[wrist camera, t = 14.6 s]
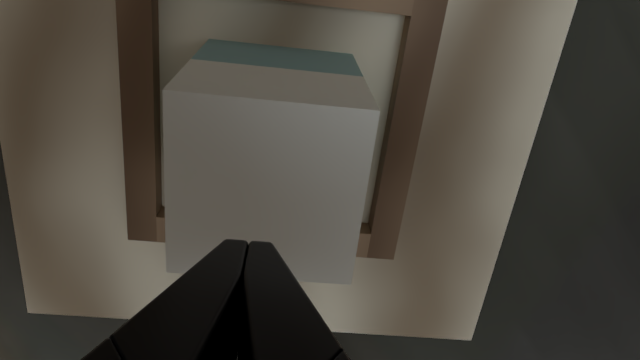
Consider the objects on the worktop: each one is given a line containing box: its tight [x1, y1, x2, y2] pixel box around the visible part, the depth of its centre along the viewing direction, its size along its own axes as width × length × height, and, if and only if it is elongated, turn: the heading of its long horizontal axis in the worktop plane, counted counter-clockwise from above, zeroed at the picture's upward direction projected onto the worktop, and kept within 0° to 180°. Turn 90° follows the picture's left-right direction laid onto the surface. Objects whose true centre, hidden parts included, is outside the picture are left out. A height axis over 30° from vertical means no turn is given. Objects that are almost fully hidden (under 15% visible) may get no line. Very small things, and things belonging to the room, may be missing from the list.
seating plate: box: [0, 0, 578, 340], centre depth 17 cm, size 18×18×2 cm
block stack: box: [162, 39, 380, 285], centre depth 14 cm, size 4×4×6 cm
